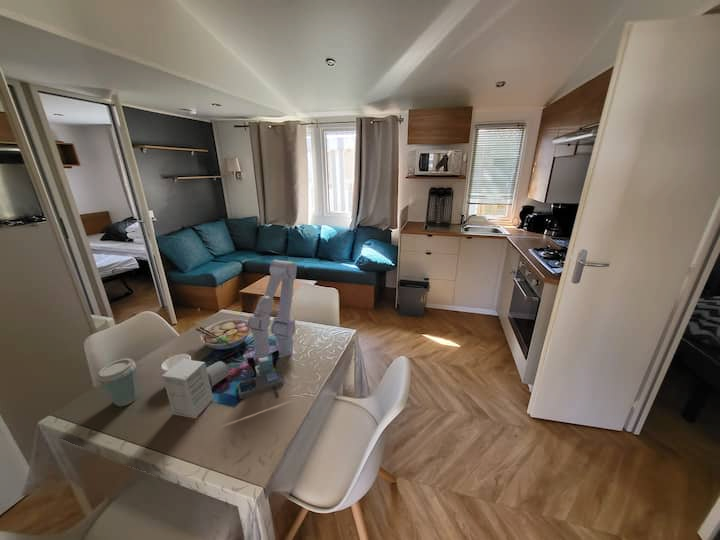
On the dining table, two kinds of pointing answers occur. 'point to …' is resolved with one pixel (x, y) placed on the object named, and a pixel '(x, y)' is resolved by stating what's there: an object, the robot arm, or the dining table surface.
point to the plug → (264, 365)
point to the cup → (173, 362)
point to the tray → (266, 373)
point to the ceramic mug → (217, 372)
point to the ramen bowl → (225, 333)
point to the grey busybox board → (262, 384)
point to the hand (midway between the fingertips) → (264, 369)
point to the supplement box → (188, 388)
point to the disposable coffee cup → (120, 381)
